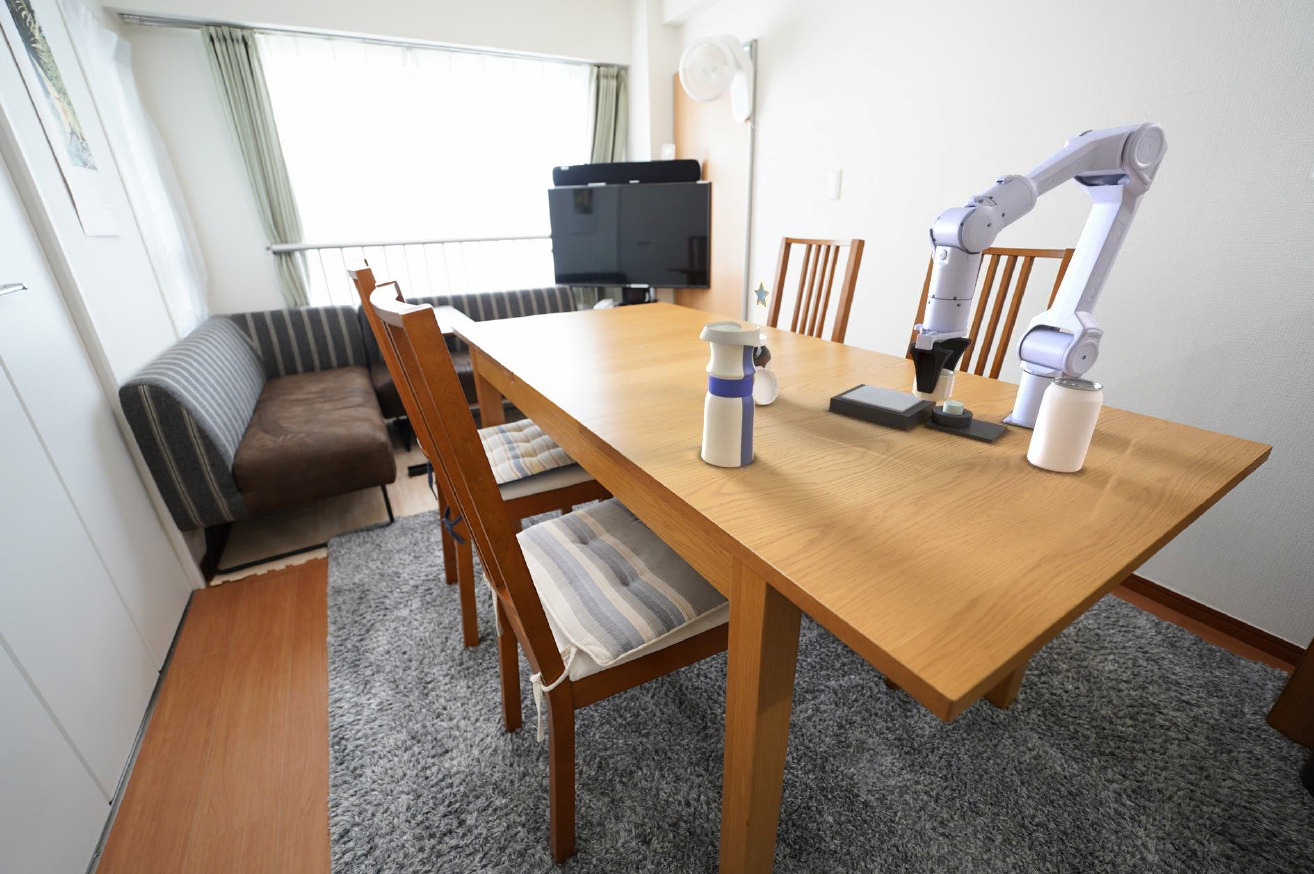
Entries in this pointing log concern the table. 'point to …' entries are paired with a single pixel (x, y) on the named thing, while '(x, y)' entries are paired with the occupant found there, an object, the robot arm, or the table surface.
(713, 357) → the water bottle
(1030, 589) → the table surface
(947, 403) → the button
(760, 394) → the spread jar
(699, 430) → the table surface
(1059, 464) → the can
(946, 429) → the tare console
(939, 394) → the bowl
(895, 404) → the scale
